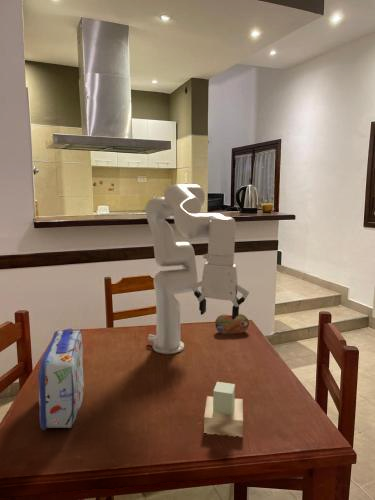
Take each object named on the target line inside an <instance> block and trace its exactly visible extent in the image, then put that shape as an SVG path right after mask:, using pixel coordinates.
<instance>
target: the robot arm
mask: <svg viewBox="0 0 375 500" xmlns="http://www.w3.org/2000/svg"><path fill="white" fill-rule="evenodd" d="M163 193H164V194H163V196H157V197H152V198H150V199H149V200H148V201H147V203H146V207H145V215H146V220H147V223H148V225H149V228H150V231H151V234H152V241H153V242H152V245H153V252H154V253H153V254H154V260H155V263H156V265H157V266H158V267H162V268H167V267H169V268H170V267H180V266H181V269H180V268H177V269H167V270H162V271H161V270H160V271H159V272H157V273H156V274H155V275H154V277H153V286H154V287H153V288H154V292H155V293H154V294H155V305H156V307H155V308H156V309H155V311H156V315H155V316H156V319H155V320H156V324H155V325H156V334H151V333H149V334H148V335H147V339H148V340H147V341H148V342H153V344H152V349H153V350H154V352H156V353H159V354H162V355H172V354H177V353H179V352H182V351H183V350H184V349H185V343H184V342H183V341H181V303H180V301H179V300H178V299H177V298H176V297H175V295H179V294H185V293H193V295H194V296H195V297H196V299H197V301H198V302H199V306H198V309H199V310H198V311H200V313H199V314H200V315H204V314H205V313H206V312H207V300H206V298H207V299H212V300H213V299H215V300H222V301H231V303H232V305H233V306H232V308H231V309H232V311H231V314H232V319H233V320H235V318H236V317H237V316H238V314H240V312H239V311H240V306H241V304H243V303H244V301H245V300H246V299H247V298H248V296H249V294H250V292H249V290H247V289H245V288H244V287H242V286H241V285H239V284H238V270H237V265H236V264H235V244H236V243H235V241H236V226H237V225H236V220H235V218H234V217H231V216H225V215H224V214H221V213H218V212H217V213H215V212H213V213H201V211H202V206H203V205H204V203H205V201H206V199H205V198H206V196H205V191H204V189H203V188H202V187H201V186H200V185H198V184H194V183H193V184H189V183H187V184H186V183H185V184H184V183H182V184H181V183H180V184H178V183H176V184H172V185H169V186H168V187H167V188H166V189H165V190H164V192H163ZM168 219H169V220H173V221H174V225H175V228H176V230H177V231H178V232H179V234H181V235H182V236H183V237H184V238H186V239H189V240H199V239H204V240H205V239H208V243H207V244H208V246H207V253H203V255H202V257H203V259H205V260H206V262H205V263H204V266H203V270H202V275H201V277H202V278H201V281H199V279H198V271H197V270H198V269H197V262H196V261H197V260H196V254H195V249H194V247H193V245H192V244H191V243H190V242H188V241H176V240H175V232H174V229H173V227H172V226H171V224H170V223H169V222H168V221H167V220H168ZM198 281H199V282H198ZM198 288H200V290H199V289H198ZM238 292H239V293H241V294H242V296H241V297H240V298H239V297H238V296H237V295H238Z"/></svg>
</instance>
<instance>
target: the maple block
mask: <svg viewBox="0 0 375 500" xmlns="http://www.w3.org/2000/svg"><path fill="white" fill-rule="evenodd" d="M243 401H244V400H243V398H235V404H234V408H233V412H232V415H229V414H223V413H217V412H213V396H208V395H207V396H206V402H205V407H204V408H205V410H204V417H203V434H204V433H207V434H206V435H214V434H217V435H216V436H225V435H228V436H227V437H236V436H239V437H238V438H243V436H244V435H243V434H244V433H243V432H244V409H243V408H244V407H243V406H244V403H243Z"/></svg>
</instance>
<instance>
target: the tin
mask: <svg viewBox="0 0 375 500" xmlns="http://www.w3.org/2000/svg"><path fill="white" fill-rule="evenodd" d="M214 326H215V329H216V330H217V332H218V333H220V334H222V335H226V334H227V335H228V334H243V333H245V332H246V331H247V330H248V328H249V326H250V321H249V319H248V317H247V316H246V315H244V314H243V313H239V314H238V316H237V317H236V318H235V320H233V319H232V313H230V314H229V313H227V314H226V313H225V314H221V315H220V314H219V315H218V316H217V317H216V319H215V322H214Z"/></svg>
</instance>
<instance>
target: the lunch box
mask: <svg viewBox="0 0 375 500" xmlns="http://www.w3.org/2000/svg"><path fill="white" fill-rule="evenodd" d="M83 351H84V347H83V341H82V332H81V330H72V328H66V329H63V330H56V331H54V333H53V336H52V338H51V341H50V343H49V344H48V346H47V348H46V350H45V352H44V354H43V356H42V357H41V361H40V367H39V371H38V377H37V378H38V379H37V380H38V386H39V387H38V407H39V408H38V409H39V412H38V413H39V426H40V427H39V428H40V429H41V431H42V430H43V431H46V430H47V428H49V429H51V428H53V429H54V428H55V429H56V428H57V429H58V428H64V429H65V428H66V429H67V428H68V429H71V428H73V425H74V423H75V420H76V419H77V416H78V414H79V411H80V408H81V406H82V404H83V400H84V399H83V397H84V391H85V387H84V386H85V384H84V383H85V381H84V353H83Z"/></svg>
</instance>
